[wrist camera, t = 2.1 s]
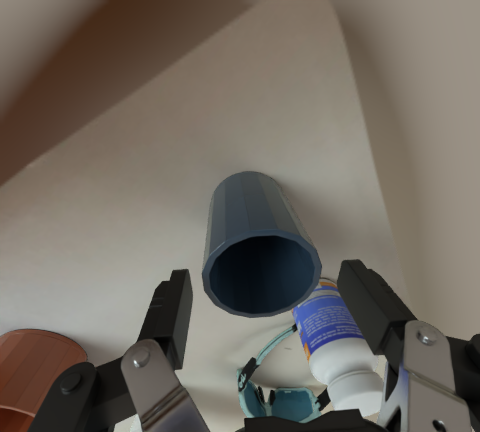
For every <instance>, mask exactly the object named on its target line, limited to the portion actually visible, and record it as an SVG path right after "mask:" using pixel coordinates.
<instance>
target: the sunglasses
mask: <svg viewBox="0 0 480 432" xmlns="http://www.w3.org/2000/svg"><path fill="white" fill-rule="evenodd" d="M296 330H298V329H297V326H296V324H295V325H293V326H292V327H290V328H289V329H287V330H286V331H284V332H282V333H281V334H279V335H278V336H277V337H275V338H274V339H273V340H272V341H270V342H269V343H268V344H267V345H266V346H265V347H264V348H263V349H262V350H261V352H260V353H259V355H258V357H257V358H256V359H255V358H253V357H252V358H251V359H250V361H249V362H248V363H247V364H246V366H245V367H244V369H243V370H241V369H237V382H238V391H239V401H240V405H241V407H242V410H243V412H244V414H245V415H246V416H247V417H248V418H253V417H264V416H276V417H280V418H284V419H288V420H292V421H296V422H301V423H306V422H309V421H311V420H313V419H315V418H317V417H319V416H320V415H321V412H320V411H322V410H323V409H324V408H325V407H326V406H327V405H328V404H329V402H330V401H331V400H330V398H329V395H328V391H327V388H326V389H325V390H324V391H323V393H322V394H320V395H319V396H318V397H317V398H316V397H315V396H314V394H313V392H312V391H311V390H309V389H307V388H306V387H305V388H278V389H276V390H275V391H273V390H271V391H270V394H269V398H268V402H267V403H266V402H265V400H264V394H263V391H262V388H261V387H260V386H258V389H257V388H256V386H255V385H254V384H253V382H252V381H251V380H250V377H251V375H252V374H253V372H254V371H255V369H256V368H257V367H258V366H259V365H260V364H261V361H262V359H263V358H264V357H265V356H266V355H267V354H268V353H269V352H270V351H271V349H272V348H273V347H275V346H276V345H277V344H278V343H279V342H280V341H282V340H283V339H284V338H286V337H287V336H289V335H290V334H292V333H294V332H295V331H296ZM258 390H259V392H258ZM259 393H260V394H259ZM311 399H312V400H311ZM312 403H313V407H312ZM313 408H314V412H313Z"/></svg>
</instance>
